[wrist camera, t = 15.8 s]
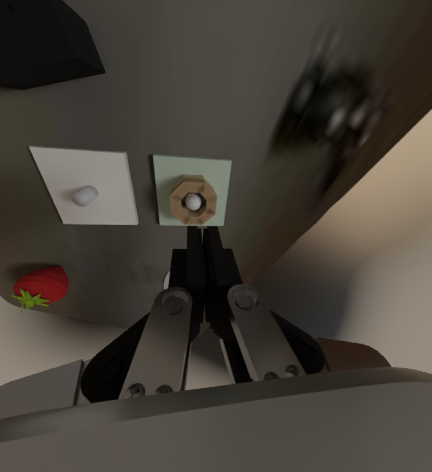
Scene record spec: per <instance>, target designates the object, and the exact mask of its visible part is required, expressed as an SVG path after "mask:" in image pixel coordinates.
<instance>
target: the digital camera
mask: <svg viewBox="0 0 432 472" xmlns="http://www.w3.org/2000/svg"><path fill="white" fill-rule="evenodd" d="M81 27H83V28H81ZM83 29H84V30H83ZM84 31H85V32H84ZM97 65H98V66H97ZM103 73H106V72H105V69H104V67H103V64H102V62H101V59H100V57H99V54H98V52H97V49H96V47H95V44H94V42H93V39H92V37H91V34H90V31H89V29H88V26H87V24H86V22H85V21H84V20H83V19H82V18H81V17H80V16H79V15H78V14H77V13H75V12H74V11H73V10H72V9H71V8H70V7H69V6H68V5H67V4H66V3H65V2H63V1H62V0H0V86H1V87H8V88H14V89H20V90H25V89H30V88H35V87H39V86H44V85H49V84H54V83H59V82H64V81H69V80H73V79H78V78H83V77H88V76H93V75H98V74H103Z"/></svg>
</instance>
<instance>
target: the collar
mask: <svg viewBox="0 0 432 472" xmlns="http://www.w3.org/2000/svg"><path fill="white" fill-rule="evenodd" d="M188 192H191V193H200V194H201V195H202V196H203V197H204V198H205V201H203V202H202V203H201V205H200V207H199V208H198V209H197V210H190V209H189V208H188V207H187V206H186V203H185V202H184V201H183V200H182V198H183V197H184V196H185V195H186V194H187V193H188ZM216 204H217V195H216V192H215V189H214V188H213V186H212V185H211V184H210V183H209V182H208V181H207V180H206V179H205V177H204V176H203V175H188V174H184V175H183V176H182V177H181V178H180V179H179V180H178V181H177V182H176V183H175V184H174V185H173V186H172V189H171V193H170V205H171V214H173V215H174V216H175V217H176V218H177V219H178V220H180V221H181V222H182V223H183V224H184V225H203V224H204V223H205V222H206V221H208V220H209V219H210V218H211V217H213V216H214V215H215V214H216Z"/></svg>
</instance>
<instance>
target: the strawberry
mask: <svg viewBox="0 0 432 472" xmlns="http://www.w3.org/2000/svg"><path fill="white" fill-rule="evenodd" d="M68 285H69V282H68V279H67V275H66V274H65V272H64V269H63V267H61V266H53V267H48V268H43V269H40V270H36V271H33V272H30V273H28V274H26V275H25V276H23V277H21V278H19V279H18V280H17V282H16V283H15V285H14V286H13V290H14V292H15V294H16V296H15V295H11V296H13V297H15V298H17V299H19V300H22V301H20V302H18V303H23V304H26V305H27V309H29V308H31V307H32V306H33V304H38V305H44V306H49V305H46V304H47V303H52V302H55V301H58V300H60V299H61V298H62V297H63V296H64V295H65V294H66V293H67V290H68ZM23 304H22V309H23ZM21 314H22V310H21Z"/></svg>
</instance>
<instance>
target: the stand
mask: <svg viewBox="0 0 432 472" xmlns="http://www.w3.org/2000/svg"><path fill="white" fill-rule="evenodd" d="M29 148H30V150H31V153H32V155H33V157H34V159H35V161H36V164H37V166H38V168H39V170H40V173H41V175H42V177H43V179H44V181H45V184H46V186H47V188H48V190H49V193H50V195H51V197H52V199H53V201H54V204H55V206H56V208H57V210H58V213H59V215H60V217H61V219H62V221H63V224H108V225H137V224H138V216H137V210H136V205H135V199H134V193H133V188H132V182H131V177H130V171H129V165H128V160H127V154H126V152H117V151H103V150H89V149H75V148H61V147H47V146H29Z"/></svg>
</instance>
